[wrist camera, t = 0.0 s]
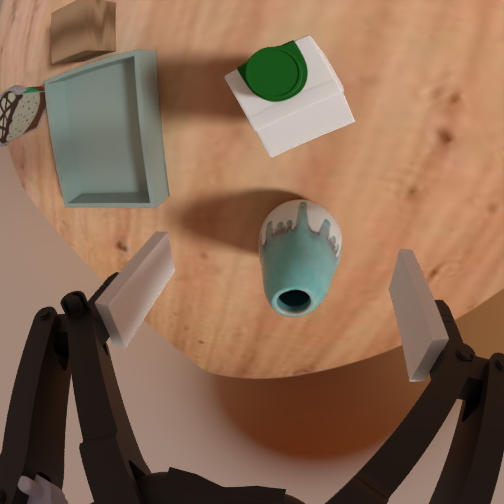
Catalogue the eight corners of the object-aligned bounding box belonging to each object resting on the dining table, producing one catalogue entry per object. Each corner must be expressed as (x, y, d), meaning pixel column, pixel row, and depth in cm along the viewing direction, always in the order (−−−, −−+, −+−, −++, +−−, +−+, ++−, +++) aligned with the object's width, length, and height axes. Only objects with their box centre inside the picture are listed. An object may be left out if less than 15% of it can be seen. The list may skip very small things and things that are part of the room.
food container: (42, 68, 37) (3, 74, 29) (58, 83, 39) (17, 91, 31) (21, 117, 43) (-15, 130, 35) (35, 133, 45) (-1, 148, 37)
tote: (63, 77, 38) (44, 80, 34) (156, 51, 35) (139, 49, 31) (81, 196, 51) (65, 207, 47) (169, 195, 47) (155, 208, 43)
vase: (346, 249, 47) (357, 331, 32) (278, 265, 51) (260, 346, 36) (328, 181, 42) (336, 244, 27) (253, 202, 46) (221, 270, 31)
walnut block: (83, 16, 32) (51, 13, 25) (115, 3, 31) (84, -4, 24) (84, 61, 37) (51, 63, 30) (116, 50, 36) (84, 50, 29)
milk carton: (312, 51, 32) (313, 20, 16) (342, 109, 36) (371, 131, 19) (253, 78, 36) (204, 74, 19) (285, 134, 39) (263, 176, 23)
